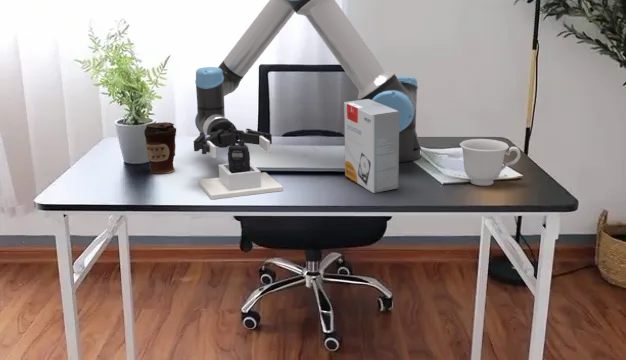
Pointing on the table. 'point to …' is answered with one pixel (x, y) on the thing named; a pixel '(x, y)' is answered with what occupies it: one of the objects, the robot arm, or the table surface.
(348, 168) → the hard drive box
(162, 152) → the coffee cup
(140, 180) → the table surface
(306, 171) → the table surface
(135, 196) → the table surface
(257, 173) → the charging cradle
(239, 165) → the two-way radio
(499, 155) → the teacup
